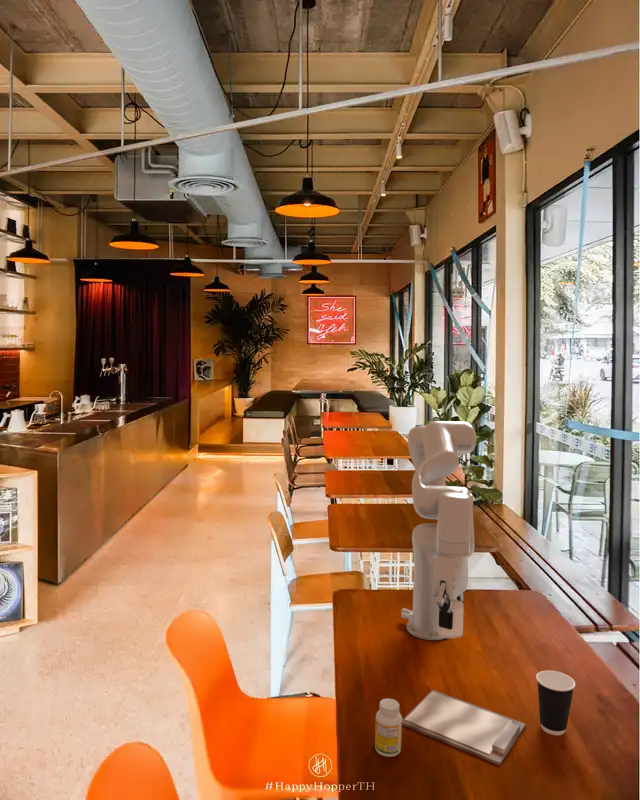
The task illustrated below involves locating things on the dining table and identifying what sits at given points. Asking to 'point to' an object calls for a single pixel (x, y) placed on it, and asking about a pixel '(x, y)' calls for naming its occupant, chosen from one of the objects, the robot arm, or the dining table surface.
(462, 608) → the eye dropper bottle
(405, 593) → the dining table surface
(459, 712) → the clipboard
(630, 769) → the dining table surface
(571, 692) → the dixie cup
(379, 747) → the supplement bottle
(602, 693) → the dining table surface
